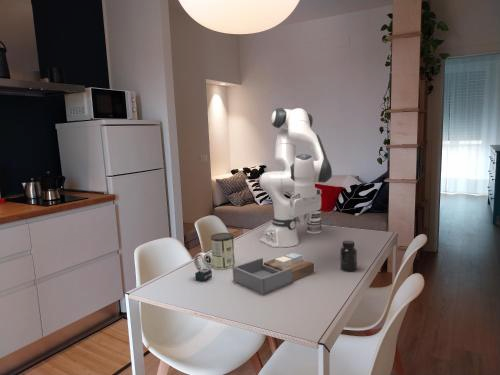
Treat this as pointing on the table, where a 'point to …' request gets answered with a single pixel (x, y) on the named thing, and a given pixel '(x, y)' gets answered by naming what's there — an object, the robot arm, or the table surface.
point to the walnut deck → (294, 268)
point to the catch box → (261, 276)
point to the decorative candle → (314, 222)
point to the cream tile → (283, 261)
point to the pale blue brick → (294, 258)
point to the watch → (203, 273)
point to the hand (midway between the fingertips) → (305, 223)
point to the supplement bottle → (348, 257)
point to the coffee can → (222, 250)
